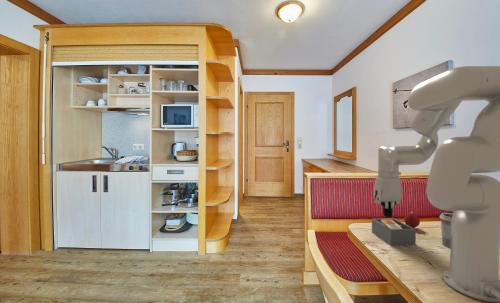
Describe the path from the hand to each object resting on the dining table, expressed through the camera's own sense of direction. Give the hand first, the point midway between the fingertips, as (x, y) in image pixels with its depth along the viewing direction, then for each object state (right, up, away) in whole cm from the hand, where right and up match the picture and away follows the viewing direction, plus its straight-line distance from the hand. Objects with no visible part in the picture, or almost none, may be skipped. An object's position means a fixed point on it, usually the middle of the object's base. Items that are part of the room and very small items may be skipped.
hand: (387, 216), depth 95 cm
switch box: (0, -8, -3) cm, 9 cm away
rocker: (0, -3, -3) cm, 4 cm away
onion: (+15, -8, +7) cm, 19 cm away
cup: (+18, -9, -10) cm, 22 cm away
